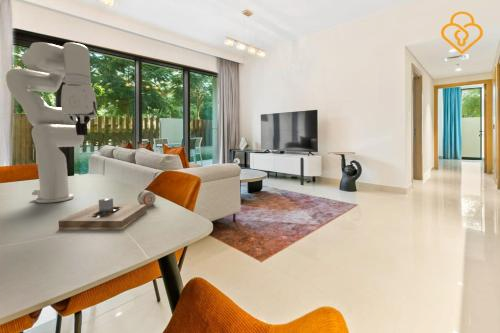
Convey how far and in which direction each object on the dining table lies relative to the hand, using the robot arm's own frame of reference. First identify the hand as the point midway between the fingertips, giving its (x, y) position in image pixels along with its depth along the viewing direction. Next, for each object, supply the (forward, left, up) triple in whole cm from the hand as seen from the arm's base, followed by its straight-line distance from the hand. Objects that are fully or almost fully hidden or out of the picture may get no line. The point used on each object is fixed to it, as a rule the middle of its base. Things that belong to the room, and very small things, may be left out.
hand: (82, 135), depth 91 cm
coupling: (+14, -12, -27) cm, 32 cm away
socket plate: (+14, -12, -27) cm, 33 cm away
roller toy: (+20, +5, -27) cm, 34 cm away
